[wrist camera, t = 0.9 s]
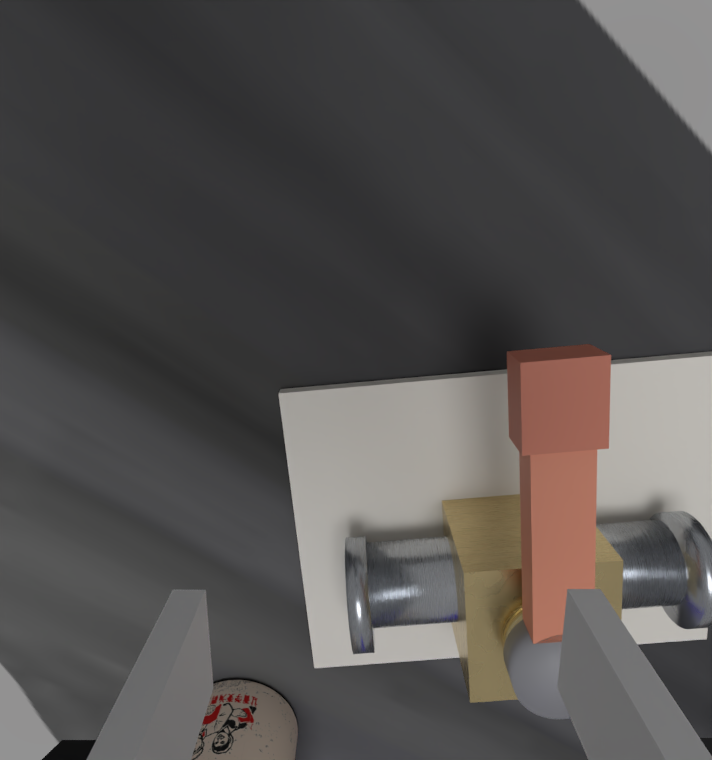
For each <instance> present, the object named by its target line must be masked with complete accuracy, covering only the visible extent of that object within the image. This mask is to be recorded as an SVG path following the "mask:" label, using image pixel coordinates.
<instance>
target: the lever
mask: <svg viewBox="0 0 712 760" xmlns="http://www.w3.org/2000/svg"><path fill="white" fill-rule="evenodd" d="M610 379H611V355H610V354H608V353H606V352H604V351H602V350H600V349H598V348H596V347H594V346H592V345H590V344H585V345H574V346H563V347H551V348H540V349H529V350H517V351H507V381H508V421H509V438H510V439H511V441H512V442H513V444H514V445H515V446H516V448H517V449H518V451H519V467H520V516H521V566H522V615H523V620H521V621H520V622H519V623H518V624H516V625H515V627H514V628H513V629H512V630H511V631H510V633H509V635H508V636H507V638H506V641H505V644H504V650H503V656H504V662H505V665H506V668H507V671H508V674H509V677H510V680H511V683H512V686H513V689H514V692H515V694H516V696H517V698H518V700H519V701H520V702H521V704H522V705H523V706H524V707H525V708H527V709H528V710H529V711H531V712H532V713H534V714H537V715H539V716H542V717H545V718H550V719H568V718H570V716H569V714H568V711H567V709H566V707H565V704H564V702H563V700H562V697H561V695H560V693H559V690H558V688H557V684H558V675H559V665H560V655H561V646H562V636H563V626H564V617H565V607H566V597H567V589H595V558H596V498H597V450H598V449H609V424H610Z"/></svg>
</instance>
